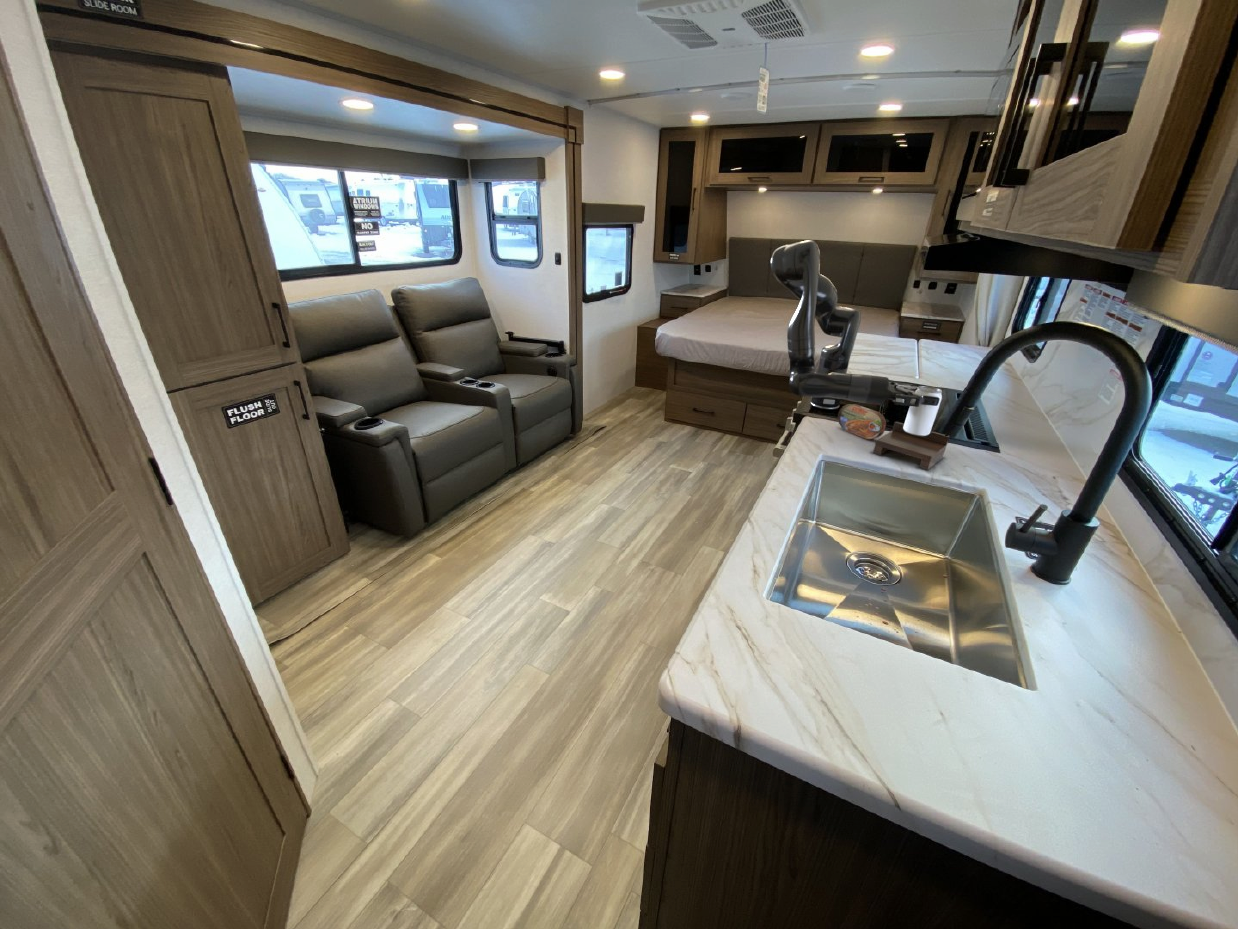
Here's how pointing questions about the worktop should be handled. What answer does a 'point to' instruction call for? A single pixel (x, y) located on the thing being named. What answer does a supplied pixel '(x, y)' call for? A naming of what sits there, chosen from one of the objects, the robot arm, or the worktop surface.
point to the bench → (913, 445)
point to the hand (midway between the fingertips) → (935, 397)
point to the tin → (861, 421)
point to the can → (922, 413)
